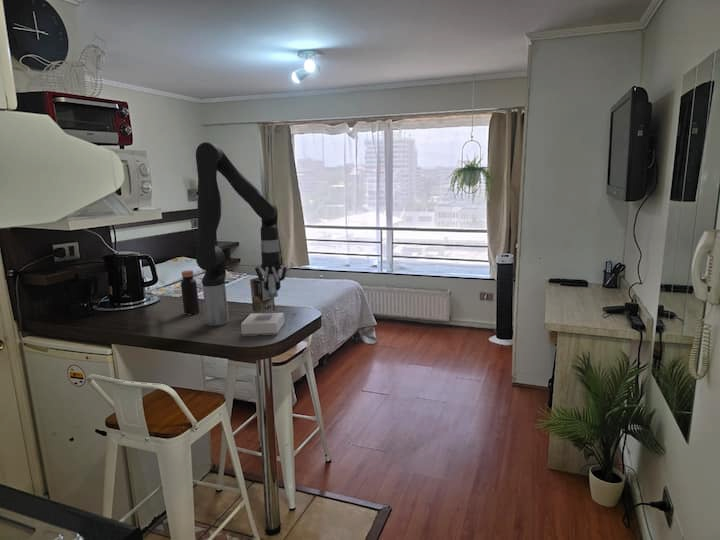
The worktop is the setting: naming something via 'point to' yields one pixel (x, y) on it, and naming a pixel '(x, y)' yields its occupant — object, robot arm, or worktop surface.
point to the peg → (272, 286)
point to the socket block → (262, 324)
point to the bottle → (189, 293)
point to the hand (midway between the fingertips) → (272, 289)
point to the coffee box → (261, 297)
